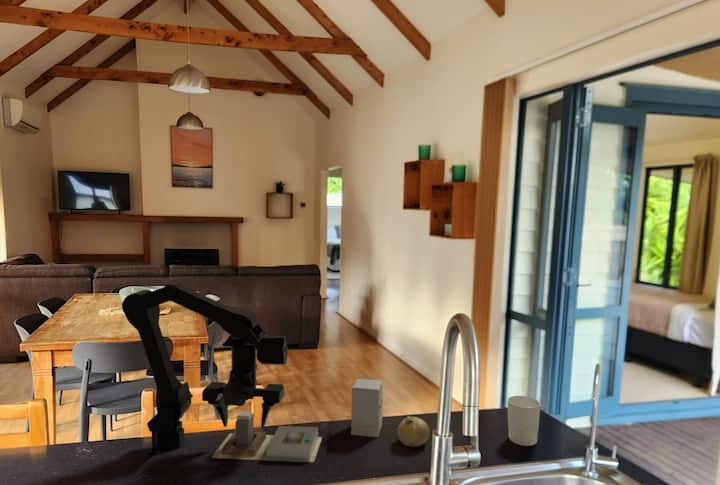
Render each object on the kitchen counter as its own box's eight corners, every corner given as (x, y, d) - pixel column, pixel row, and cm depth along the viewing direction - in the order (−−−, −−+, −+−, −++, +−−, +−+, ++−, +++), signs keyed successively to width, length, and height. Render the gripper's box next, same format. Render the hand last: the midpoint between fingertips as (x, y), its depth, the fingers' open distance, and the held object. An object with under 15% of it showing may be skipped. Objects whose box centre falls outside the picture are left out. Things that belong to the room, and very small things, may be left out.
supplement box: (378, 438, 120) (378, 389, 120) (350, 435, 122) (350, 387, 121) (383, 425, 128) (383, 379, 127) (356, 422, 129) (356, 377, 128)
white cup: (505, 443, 118) (506, 404, 117) (507, 430, 125) (508, 393, 124) (538, 449, 115) (540, 410, 114) (539, 435, 122) (540, 398, 121)
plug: (235, 450, 112) (235, 417, 111) (241, 441, 116) (241, 409, 116) (248, 450, 111) (247, 418, 111) (253, 441, 116) (253, 410, 115)
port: (266, 460, 107) (266, 447, 107) (279, 435, 119) (279, 424, 119) (309, 461, 107) (309, 449, 106) (318, 437, 119) (318, 425, 118)
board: (211, 461, 108) (211, 457, 108) (229, 437, 120) (229, 433, 120) (313, 466, 107) (313, 462, 106) (322, 441, 118) (322, 437, 118)
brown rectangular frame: (222, 454, 110) (221, 448, 110) (235, 436, 119) (235, 430, 118) (255, 456, 109) (255, 449, 109) (266, 437, 118) (266, 432, 118)
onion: (400, 434, 123) (400, 407, 122) (431, 438, 121) (431, 411, 120) (394, 448, 115) (394, 420, 115) (427, 453, 113) (427, 424, 112)
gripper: (191, 373, 105) (192, 441, 106) (273, 376, 104) (273, 444, 105) (211, 358, 116) (211, 419, 117) (285, 360, 115) (285, 422, 116)
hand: (244, 426), depth 114 cm, fingers open, 9 cm apart
